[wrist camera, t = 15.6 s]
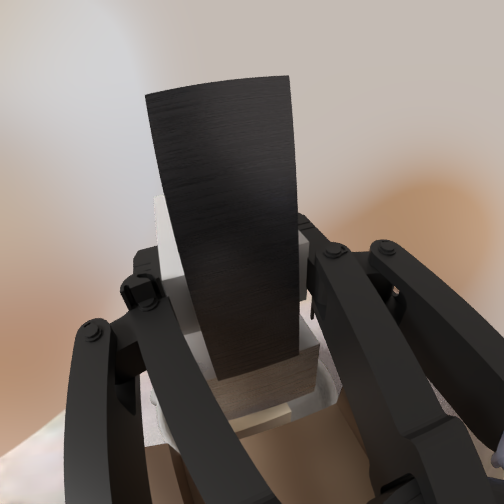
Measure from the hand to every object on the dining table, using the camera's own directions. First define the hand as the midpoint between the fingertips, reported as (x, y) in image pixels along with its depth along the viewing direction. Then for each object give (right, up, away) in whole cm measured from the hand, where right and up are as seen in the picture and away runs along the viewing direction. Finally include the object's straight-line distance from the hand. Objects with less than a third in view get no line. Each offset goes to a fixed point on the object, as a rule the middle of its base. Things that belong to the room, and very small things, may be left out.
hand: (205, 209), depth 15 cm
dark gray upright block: (+3, -9, 0) cm, 10 cm away
